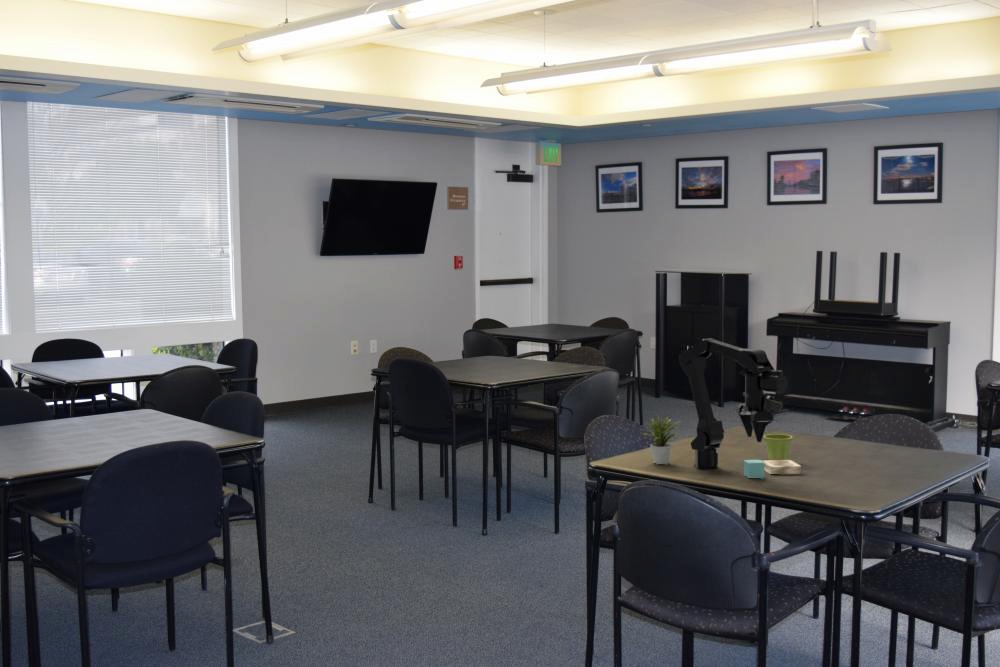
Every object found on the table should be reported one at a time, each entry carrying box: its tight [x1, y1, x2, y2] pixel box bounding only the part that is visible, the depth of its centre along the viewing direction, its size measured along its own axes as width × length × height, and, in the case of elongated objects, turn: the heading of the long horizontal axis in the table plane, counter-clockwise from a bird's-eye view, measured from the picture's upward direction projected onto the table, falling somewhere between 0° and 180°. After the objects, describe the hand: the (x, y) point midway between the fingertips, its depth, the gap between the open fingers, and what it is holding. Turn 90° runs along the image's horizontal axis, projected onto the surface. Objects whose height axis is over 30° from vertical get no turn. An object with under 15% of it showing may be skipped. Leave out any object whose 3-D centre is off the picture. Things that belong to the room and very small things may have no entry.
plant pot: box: [762, 433, 793, 460], centre depth 338 cm, size 9×9×9 cm
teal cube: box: [743, 459, 765, 479], centre depth 317 cm, size 5×5×5 cm
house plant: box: [642, 415, 683, 465], centre depth 338 cm, size 14×14×16 cm
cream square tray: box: [761, 459, 802, 475], centre depth 324 cm, size 10×10×3 cm
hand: (754, 439), depth 316 cm, fingers open, 9 cm apart
